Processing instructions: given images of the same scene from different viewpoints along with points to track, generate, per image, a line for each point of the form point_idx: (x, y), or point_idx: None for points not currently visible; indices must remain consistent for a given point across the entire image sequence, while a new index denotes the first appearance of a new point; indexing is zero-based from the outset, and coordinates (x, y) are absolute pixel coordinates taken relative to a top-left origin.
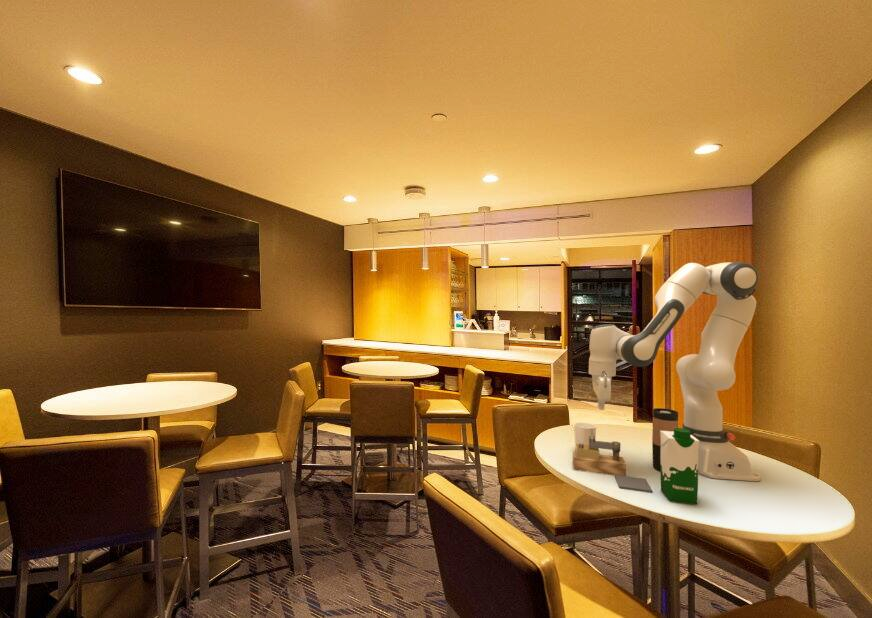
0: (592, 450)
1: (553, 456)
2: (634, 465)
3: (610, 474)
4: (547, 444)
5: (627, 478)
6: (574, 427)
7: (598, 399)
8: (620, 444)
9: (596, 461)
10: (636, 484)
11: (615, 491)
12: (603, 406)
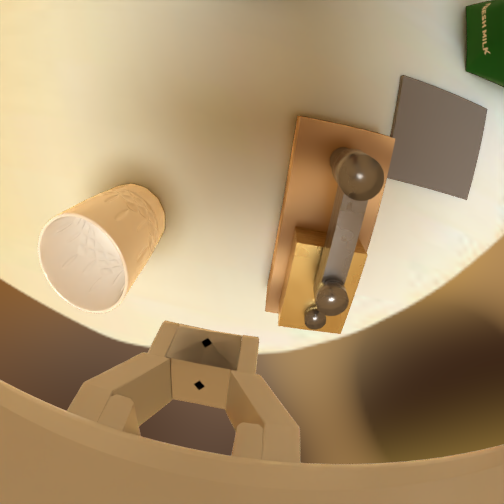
0: (358, 279)
1: (223, 331)
2: (247, 52)
3: None
4: (114, 324)
5: (413, 143)
6: (97, 304)
7: (139, 419)
8: (368, 155)
9: (366, 248)
10: (453, 135)
11: (478, 217)
12: (255, 365)
